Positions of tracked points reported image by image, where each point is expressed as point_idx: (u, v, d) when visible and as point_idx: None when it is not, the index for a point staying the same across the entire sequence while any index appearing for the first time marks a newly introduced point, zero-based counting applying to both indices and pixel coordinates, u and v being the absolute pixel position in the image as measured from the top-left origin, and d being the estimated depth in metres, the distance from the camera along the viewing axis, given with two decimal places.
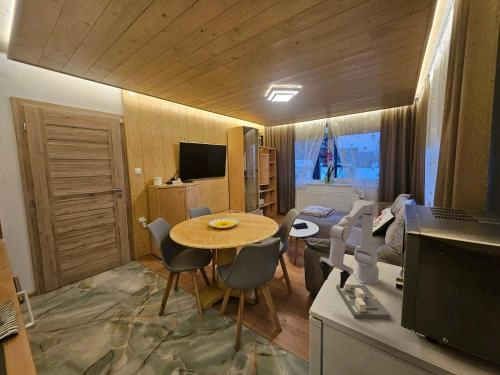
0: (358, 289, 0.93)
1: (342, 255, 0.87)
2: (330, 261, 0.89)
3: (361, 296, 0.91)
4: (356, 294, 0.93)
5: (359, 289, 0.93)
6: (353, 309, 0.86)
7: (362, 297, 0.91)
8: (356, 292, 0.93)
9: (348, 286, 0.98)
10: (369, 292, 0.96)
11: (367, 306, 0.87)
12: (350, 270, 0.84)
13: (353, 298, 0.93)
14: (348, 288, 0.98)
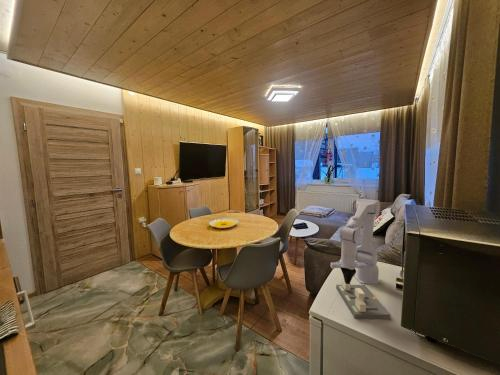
0: (358, 289, 0.93)
1: None
2: (347, 265, 0.88)
3: (361, 296, 0.91)
4: (356, 294, 0.93)
5: (359, 289, 0.93)
6: (353, 309, 0.86)
7: (362, 297, 0.91)
8: (356, 292, 0.93)
9: (348, 286, 0.98)
10: (369, 292, 0.96)
11: (367, 306, 0.87)
12: (364, 265, 0.90)
13: (353, 298, 0.93)
14: (348, 288, 0.98)
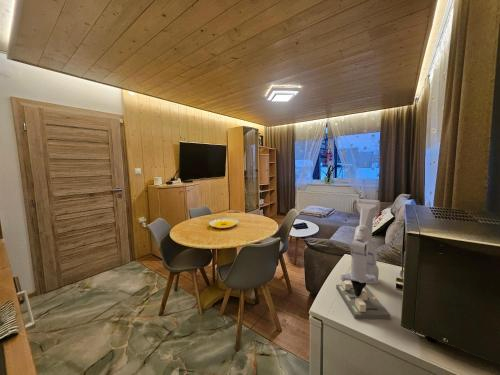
0: None
1: None
2: (358, 278, 0.89)
3: (364, 296, 0.91)
4: None
5: None
6: (353, 309, 0.86)
7: (365, 297, 0.91)
8: None
9: (348, 286, 0.98)
10: (369, 292, 0.96)
11: (367, 306, 0.87)
12: (374, 278, 0.90)
13: (353, 298, 0.93)
14: (348, 288, 0.98)
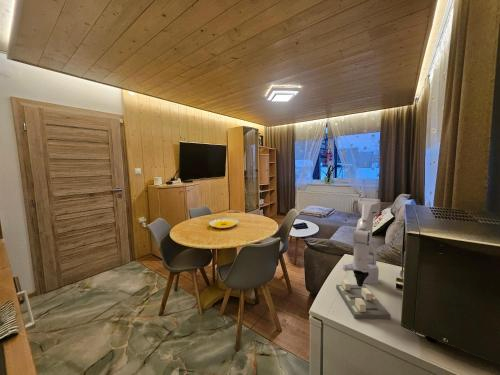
0: (365, 289, 0.93)
1: None
2: (360, 267, 0.88)
3: (368, 296, 0.90)
4: (363, 294, 0.93)
5: (366, 289, 0.93)
6: (353, 309, 0.86)
7: (369, 297, 0.90)
8: (363, 292, 0.93)
9: (348, 286, 0.98)
10: None
11: (367, 306, 0.87)
12: (377, 267, 0.90)
13: (353, 298, 0.93)
14: (348, 288, 0.98)
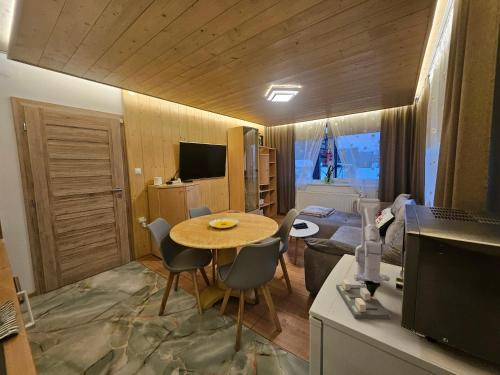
0: (364, 289, 0.93)
1: None
2: (372, 278, 0.89)
3: (367, 296, 0.90)
4: (362, 294, 0.93)
5: (365, 289, 0.93)
6: (353, 309, 0.86)
7: (368, 297, 0.91)
8: (362, 292, 0.93)
9: (348, 286, 0.98)
10: None
11: (367, 306, 0.87)
12: (389, 278, 0.90)
13: (353, 298, 0.93)
14: (348, 288, 0.98)
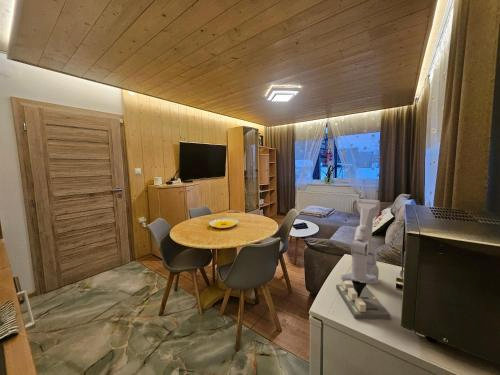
0: (351, 289, 0.93)
1: None
2: (358, 278, 0.89)
3: (354, 296, 0.91)
4: (349, 294, 0.93)
5: (352, 289, 0.93)
6: (353, 309, 0.86)
7: (355, 297, 0.91)
8: (349, 292, 0.93)
9: (348, 286, 0.98)
10: (369, 292, 0.96)
11: (367, 306, 0.87)
12: (375, 278, 0.90)
13: None
14: None
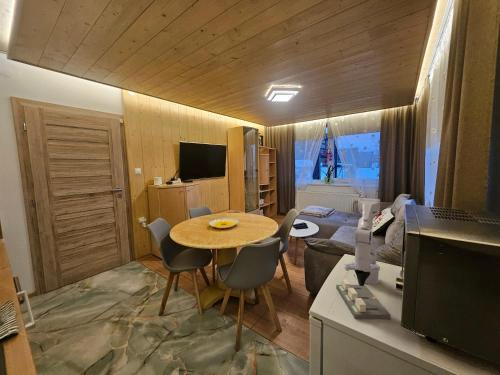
0: (351, 289, 0.93)
1: None
2: (362, 267, 0.88)
3: (354, 296, 0.91)
4: (349, 294, 0.93)
5: (352, 289, 0.93)
6: (353, 309, 0.86)
7: (355, 297, 0.91)
8: (349, 292, 0.93)
9: (348, 286, 0.98)
10: (369, 292, 0.96)
11: (367, 306, 0.87)
12: (379, 267, 0.90)
13: None
14: None
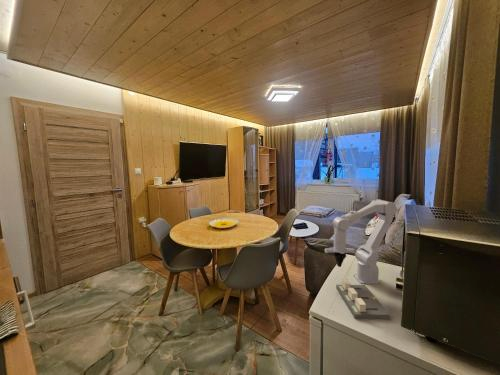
0: (351, 289, 0.93)
1: None
2: (339, 250, 1.03)
3: (354, 296, 0.91)
4: (349, 294, 0.93)
5: (352, 289, 0.93)
6: (353, 309, 0.86)
7: (355, 297, 0.91)
8: (349, 292, 0.93)
9: (348, 286, 0.98)
10: (369, 292, 0.96)
11: (367, 306, 0.87)
12: (354, 250, 1.04)
13: None
14: None
